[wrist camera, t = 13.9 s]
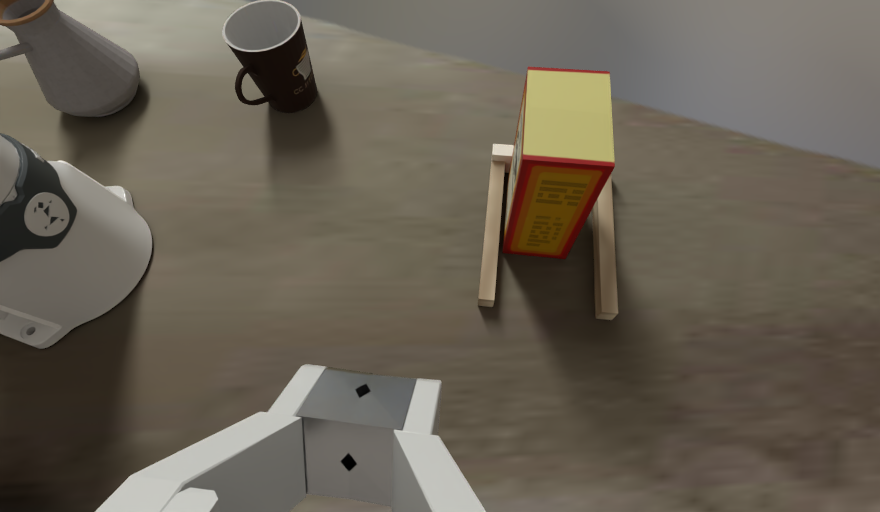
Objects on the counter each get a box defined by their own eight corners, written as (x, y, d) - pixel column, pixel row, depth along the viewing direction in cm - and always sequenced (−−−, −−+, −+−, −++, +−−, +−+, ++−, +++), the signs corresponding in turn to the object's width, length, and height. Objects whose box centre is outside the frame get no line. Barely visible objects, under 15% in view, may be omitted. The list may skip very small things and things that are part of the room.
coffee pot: (97, 59, 61) (-7, -56, 47) (167, 72, 59) (81, -43, 46) (-8, 180, 52) (-170, 81, 39) (72, 199, 50) (-69, 103, 37)
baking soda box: (507, 179, 49) (528, 62, 35) (565, 184, 49) (611, 67, 34) (502, 252, 45) (523, 155, 31) (565, 259, 45) (616, 163, 30)
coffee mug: (297, 61, 59) (268, -11, 50) (339, 91, 56) (316, 21, 47) (228, 110, 56) (183, 42, 47) (268, 144, 53) (230, 79, 44)
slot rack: (477, 305, 43) (479, 295, 40) (491, 160, 51) (493, 143, 48) (611, 320, 42) (621, 310, 39) (604, 169, 49) (613, 152, 47)
